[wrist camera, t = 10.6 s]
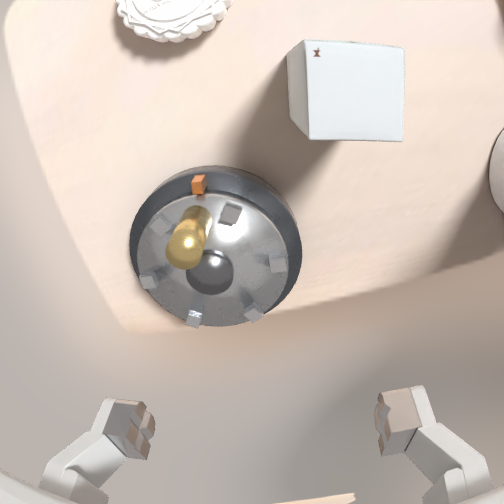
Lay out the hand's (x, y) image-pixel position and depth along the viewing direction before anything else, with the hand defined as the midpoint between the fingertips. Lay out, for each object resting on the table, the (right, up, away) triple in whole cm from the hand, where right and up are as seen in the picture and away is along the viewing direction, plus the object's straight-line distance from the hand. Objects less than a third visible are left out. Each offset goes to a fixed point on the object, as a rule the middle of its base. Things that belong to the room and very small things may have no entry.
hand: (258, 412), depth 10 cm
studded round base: (-5, +4, +27) cm, 27 cm away
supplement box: (+7, +22, +20) cm, 31 cm away
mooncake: (-8, +32, +15) cm, 36 cm away
